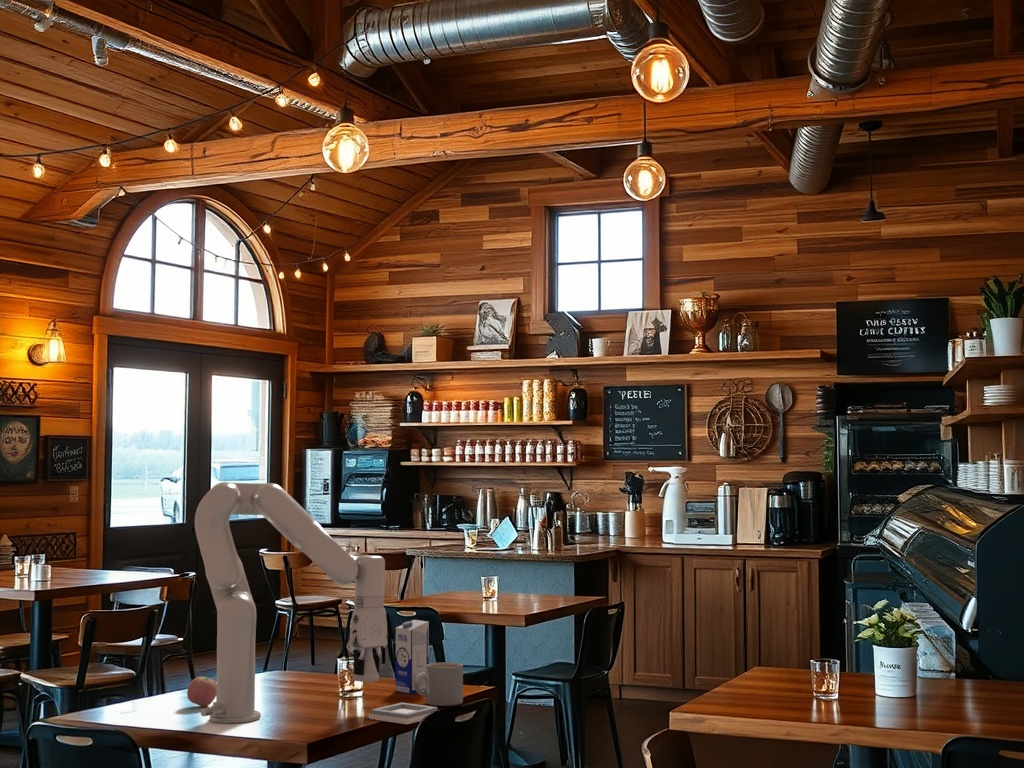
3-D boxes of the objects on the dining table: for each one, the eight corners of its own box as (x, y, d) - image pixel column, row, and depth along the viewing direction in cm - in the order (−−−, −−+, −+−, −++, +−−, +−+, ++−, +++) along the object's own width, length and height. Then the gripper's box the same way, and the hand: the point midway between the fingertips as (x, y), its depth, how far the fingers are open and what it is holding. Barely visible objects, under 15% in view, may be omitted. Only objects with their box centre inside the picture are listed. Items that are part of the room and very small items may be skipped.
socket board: (407, 724, 296) (407, 715, 296) (368, 718, 304) (368, 709, 304) (440, 716, 307) (440, 707, 307) (401, 710, 314) (401, 702, 314)
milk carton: (429, 691, 342) (429, 620, 344) (410, 694, 338) (410, 622, 339) (413, 688, 348) (414, 618, 349) (395, 691, 343) (395, 620, 345)
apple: (200, 711, 315) (201, 680, 316) (180, 708, 319) (181, 677, 320) (223, 706, 322) (223, 675, 322) (203, 703, 326) (203, 673, 326)
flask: (382, 679, 316) (384, 640, 317) (376, 683, 308) (378, 644, 309) (355, 677, 316) (357, 639, 317) (349, 682, 309) (350, 642, 310)
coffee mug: (460, 698, 331) (460, 661, 332) (464, 705, 322) (464, 667, 322) (412, 700, 329) (412, 663, 330) (415, 706, 320) (415, 668, 320)
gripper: (357, 606, 305) (354, 678, 304) (401, 602, 319) (398, 671, 317) (335, 603, 310) (332, 675, 308) (380, 600, 323) (377, 668, 322)
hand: (366, 672), depth 313 cm, fingers closed on flask, 5 cm apart
